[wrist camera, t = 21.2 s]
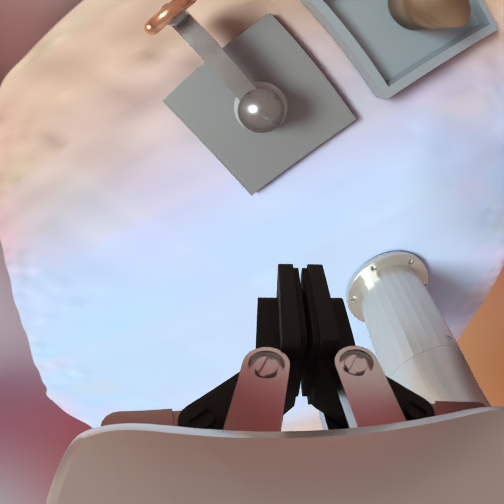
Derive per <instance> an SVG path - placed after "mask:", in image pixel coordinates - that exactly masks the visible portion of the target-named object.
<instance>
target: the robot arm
mask: <svg viewBox="0 0 504 504" xmlns="http://www.w3.org/2000/svg"><path fill="white" fill-rule="evenodd" d="M428 282H429V276H428V271H427V268H426V267H425V265H424V264H423V262H422V261H421V260H420V259H419V258H418V257H417V256H415V255H414V254H411V253H408V252H403V251H393V252H388V253H384V254H381V255H379V256H376V257H374V258H373V259H371V260H369V261H368V262H366V263H365V264H364V265H363V266H361V267H360V268H359V269H358V271H357V272H356V273H355V274H354V276H353V277H352V279H351V280H350V283H349V285H348V288H347V293H346V298H347V303H348V307H349V309H350V311H351V313H352V314H353V315H354V317H356V318H357V319H358V320H360V321H362V322H365V323H366V326H367V329H368V332H369V335H370V338H371V341H372V344H373V347H374V350H375V353H376V356H377V358H376V356H375V355H374V354H373V353H372V352H371V351H370V350H368V349H366V348H364V347H360V346H355V342H354V338H353V334H352V330H351V327H350V323H349V319H348V316H347V312H346V309H345V305H344V302H343V299H342V298H331V297H330V293H329V289H328V285H327V281H326V277H325V273H324V270H323V266H322V265H314V264H308V265H307V268H302V272H301V283H300V278H299V271H298V268H293V264H278V278H277V298H258V308H257V332H256V349H254V350H252V351H250V352H249V353H248V354H247V355H246V356H245V358H244V360H243V363H242V366H241V370H240V372H239V373H237V374H236V375H234V376H233V377H231V378H230V379H228V380H227V381H225V382H224V383H222V384H221V385H219V386H218V387H216V388H215V389H213V390H212V391H210V392H208V393H207V394H205V395H204V396H202V397H201V398H199V399H197V400H196V401H194V402H193V403H191V404H189V405H188V406H187V407H185V408H184V409H183V410H182V411H173V410H172V409H161V410H145V411H119V412H114V413H111V414H109V415H107V416H106V417H105V418H104V420H103V421H102V423H101V427H97V428H93V429H91V430H87V431H86V432H83V433H81V434H80V435H78V436H77V437H76V438H75V439H74V440H73V441H72V443H71V444H70V445H69V447H68V449H67V450H66V452H65V454H64V456H63V458H62V460H61V462H60V464H59V467H58V469H57V472H56V474H55V477H54V479H53V482H52V485H51V489H50V492H49V495H48V498H47V502H46V504H504V407H502V406H491V405H490V403H489V402H488V400H487V398H486V397H485V395H484V393H483V392H482V390H481V388H480V387H479V385H478V383H477V381H476V379H475V377H474V375H473V373H472V371H471V370H470V367H469V365H468V363H467V362H466V360H465V358H464V356H463V354H462V352H461V350H460V348H459V346H458V344H457V342H456V340H455V338H454V336H453V334H452V333H451V331H450V329H449V327H448V325H447V323H446V322H445V320H444V318H443V316H442V314H441V313H440V311H439V309H438V307H437V306H436V304H435V302H434V301H433V299H432V297H431V295H430V294H429V292H428V290H427V288H428ZM377 359H378V360H377ZM300 383H301V389H302V396H307V399H308V404H312V405H313V406H314V407H315V408H317V409H318V410H319V411H320V412H319V413H320V419H321V423H322V426H323V430H318V431H287V432H281V427H282V421H283V415H284V414H285V413H286V412H288V411H289V410H290V409H291V408H292V407H293V406H294V404H295V398H296V396H298V394H299V389H300Z"/></svg>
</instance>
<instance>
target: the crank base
mask: <svg viewBox="0 0 504 504" xmlns="http://www.w3.org/2000/svg"><path fill="white" fill-rule="evenodd" d="M223 49H224V51H225V52H226V53H227V54H228V55H229V56H230V57H231V58H232V60H233V61H234V62H235V63H236V64H237V65H238V66H239V68H240V69H241V70H242V71H243V72H244V73H245V75H246V76H247V77H248V78H249V79H250V81H251V82H252V83H253V84H254V85H255V87H256V88H258V87H263V88H268V89H270V90H272V91H274V92H275V93H276V94H277V95H278V96H279V97H280V98H281V100H282V102H283V104H284V109H285V113H284V118H283V120H282V122H281V123H280V125H279V126H278V127H277V128H276V129H274V130H272V131H270V132H266V133H256V132H253V131H250V130H248V129H247V128H246V127H245V126H244V125H243V124H242V123H241V121H240V120H239V117H238V105H239V102H240V101H239V100H238V98H237V97H236V96H235V95H234V94H233V93H232V91H231V90H230V89H229V88H228V87H227V86H226V84H225V83H224V82H223V81H222V80H221V79H220V78H219V76H218V75H217V74H216V73H215V72H214V71H213V70H212V69H211V67H210V66H209V65H208V64H207V63H206V62H205V63H204V64H203V65H201V66H200V67H199V68H198V69H197V70H196V71H195V72H193V73H192V74H191V75H190V76H189V77H188V78H187V79H186V80H184V81H183V82H182V83H181V84H180V85H179V86H178V87H177V88H176V89H175V90H174V91H173V92H172V93H170V94H169V95H168V96H167V97H166V98H165V99H164V100H163V102H164V103H165V104H166V105H167V106H168V107H169V108H170V109H171V110H172V111H173V112H174V113H175V114H176V115H177V116H178V117H179V118H180V120H181V121H182V122H183V123H184V124H185V125H186V126H187V127H188V128H189V129H190V130H191V131H192V132H193V133H194V134H195V135H196V136H197V137H198V138H199V139H200V141H201V142H202V143H203V144H204V145H205V146H206V147H207V148H208V149H209V150H210V151H211V152H212V153H213V154H214V155H215V156H216V158H217V159H218V160H219V161H220V162H221V163H222V164H223V165H224V166H225V167H226V168H227V169H228V170H229V172H230V173H231V174H232V175H233V176H234V177H235V178H236V179H237V180H238V181H239V182H240V184H241V185H242V186H243V187H244V188H245V189H246V190H247V191H248V192H249V193H250V194H251V196H252V195H253V194H254V193H256V192H257V191H258V190H259V189H261V188H262V187H263V186H265V185H266V184H267V183H269V182H270V181H271V180H273V179H274V178H275V177H277V176H278V175H279V174H281V173H282V172H283V171H285V170H286V169H288V168H289V167H290V166H292V165H293V164H294V163H296V162H297V161H298V160H300V159H301V158H303V157H304V156H305V155H307V154H308V153H309V152H311V151H312V150H314V149H315V148H316V147H318V146H319V145H320V144H322V143H323V142H325V141H326V140H327V139H329V138H330V137H332V136H333V135H334V134H336V133H337V132H339V131H340V130H342V129H343V128H344V127H346V126H347V125H349V124H350V123H352V122H353V121H354V120H356V118H355V117H354V115H353V114H352V112H351V111H350V110H349V108H348V107H347V105H346V104H345V103H344V101H343V100H342V98H341V97H340V96H339V94H338V93H337V92H336V90H335V89H334V88H333V86H332V85H331V84H330V82H329V81H328V80H327V78H326V77H325V76H324V75H323V73H322V72H321V71H320V70H319V68H318V67H317V66H316V65H315V63H314V62H313V61H312V60H311V58H310V57H309V56H308V55H307V54H306V52H305V51H304V50H303V49H302V48H301V46H300V45H299V44H298V43H297V42H296V41H295V40H294V38H293V37H292V36H291V35H290V34H289V33H288V32H287V31H286V29H285V28H284V27H283V26H282V25H281V24H280V23H279V22H278V21H277V20H276V19H275V18H274V16H273V15H272V14H271V13H269V14H268V15H266V16H265V17H263V18H262V19H260V20H259V21H258V22H256V23H255V24H253V25H252V26H251V27H249V28H248V29H247V30H245V31H244V32H243V33H241V34H240V35H239V36H237V37H236V38H235V39H233V40H232V41H231V42H230V43H228V44H227V45H226V46H224V47H223Z"/></svg>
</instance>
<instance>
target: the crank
mask: <svg viewBox="0 0 504 504" xmlns="http://www.w3.org/2000/svg"><path fill="white" fill-rule="evenodd" d="M195 2H196V0H172V1H171V2H170V3H167V4H165V5H164V6H163V7H162V8H161V10H160V11H159V12H157V13H156V14H155V15H154V16H153V17H152V18H151V19H149V20H148V21H147V22H146V23H145V25H144V30H145V32H146V33H147V34H150V35H154V34H157V33H158V32H159V31H161V30H162V29H163V28H164V27H165V26H166V25H170V26H172V27H173V28H174V29H175V30H176V31H177V32H178V33H179V34H180V35H181V36H182V37H183V38H184V39H185V40H186V41H187V42H188V43H189V45H190V46H191V47H192V48H193V49H194V50H195V51H196V52H197V53H198V54H199V55H200V56H201V57H202V59H203V60H204V61H205V62H206V63H207V64H208V65H209V66H210V67H211V69H212V70H213V71H214V72H215V73H216V74H217V75H218V76H219V78H220V79H221V80H222V81H223V82H224V83H225V84H226V86H227V87H228V88H229V89H230V90H231V91H232V93H233V94H234V95H235V96H236V97H237V98H238V100H239V101H240V102H239V105H238V117H239V120H240V121H241V123H242V124H243V125H244V126H245V127H246V128H247V129H248V130H250V131H253V132H256V133H266V132H270V131H272V130H274V129H276V128H277V127H278V126H279V125H280V123H281V122H282V120H283V118H284V113H285V109H284V104H283V102H282V100H281V98H280V97H279V96H278V95H277V94H276V93H275V92H274V91H272V90H270V89H268V88H263V87H258V88H256V87H255V85H254V84H253V83H252V82H251V81H250V79H249V78H248V77H247V76H246V75H245V73H244V72H243V71H242V70H241V69H240V68H239V66H238V65H237V64H236V63H235V62H234V61H233V60H232V58H231V57H230V56H229V55H228V54H227V53H226V52H225V51H224V49H223V48H222V47H221V46H220V45H219V44H218V43H217V42H216V41H215V40H214V39H213V37H212V36H211V35H210V34H209V33H208V32H207V31H206V30H205V29H204V28H203V27H202V26H201V25H200V24H199V23H198V22H197V21H196V20H195V18H194V17H193V16H192V15H191V14H190V13H189V12H188V11H187V10H186V9H187V8H189V7H190V6H191V5H193V4H194V3H195Z"/></svg>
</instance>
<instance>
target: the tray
mask: <svg viewBox="0 0 504 504" xmlns="http://www.w3.org/2000/svg"><path fill="white" fill-rule="evenodd" d="M300 1H301V2H302V3H303V4H304V5H305V6H306V7H307V8H308V9H309V11H310V12H311V13H312V14H313V15H314V16H315V17H316V18H317V20H318V21H319V22H320V23H321V24H322V25H323V27H324V28H325V29H326V30H327V31H328V33H329V34H330V35H331V36H332V38H333V39H334V40H335V41H336V43H337V44H338V45H339V46H340V48H341V49H342V50H343V51H344V53H345V54H346V55H347V57H348V58H349V59H350V61H351V62H352V63H353V65H354V66H355V68H356V69H357V70H358V72H359V73H360V74H361V76H362V77H363V79H364V80H365V82H366V83H367V84H368V86H369V87H370V89H371V90H372V92H373V93H374V95H375V96H376V97H378V98H381V99H384V100H387V99H389V98H390V97H392V96H393V95H395V94H396V93H398V92H399V91H401V90H402V89H404V88H405V87H407V86H408V85H410V84H411V83H413V82H414V81H416V80H417V79H419V78H420V77H422V76H423V75H425V74H426V73H428V72H430V71H431V70H433V69H434V68H436V67H437V66H439V65H441V64H442V63H444V62H445V61H447V60H448V59H450V58H452V57H453V56H455V55H456V54H458V53H460V52H461V51H463V50H465V49H466V48H468V47H470V46H471V45H473V44H474V43H476V42H478V41H479V40H481V39H483V38H484V37H486V36H488V35H490V34H491V33H493V32H495V31H496V30H498V29H499V28H498V26H497V24H496V22H495V21H494V19H493V17H492V15H491V13H490V11H489V10H488V8H487V6H486V4H485V3H484V1H483V0H469V3H470V7H471V14H470V18H469V20H468V22H467V23H466V24H465V25H463V26H461V27H450V28H435V29H424V30H408V29H405V28H403V27H402V26H400V25H399V24H398V23H397V22H396V21H395V20H394V19H393V18H392V16H391V14H390V12H389V9H388V0H300Z"/></svg>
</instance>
